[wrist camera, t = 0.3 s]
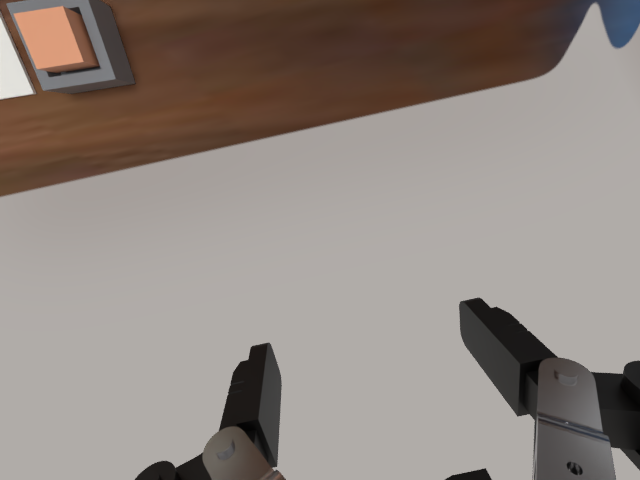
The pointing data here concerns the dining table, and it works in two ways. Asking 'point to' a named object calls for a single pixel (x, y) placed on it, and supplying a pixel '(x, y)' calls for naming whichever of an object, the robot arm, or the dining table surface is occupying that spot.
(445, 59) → the dining table surface
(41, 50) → the button
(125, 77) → the button housing
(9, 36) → the paper sheet
